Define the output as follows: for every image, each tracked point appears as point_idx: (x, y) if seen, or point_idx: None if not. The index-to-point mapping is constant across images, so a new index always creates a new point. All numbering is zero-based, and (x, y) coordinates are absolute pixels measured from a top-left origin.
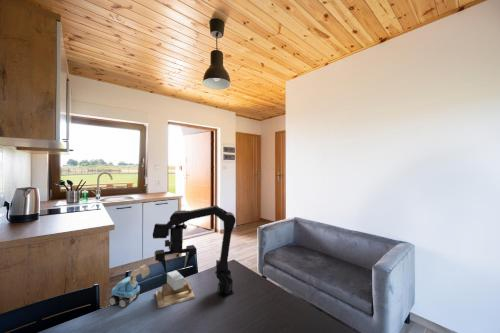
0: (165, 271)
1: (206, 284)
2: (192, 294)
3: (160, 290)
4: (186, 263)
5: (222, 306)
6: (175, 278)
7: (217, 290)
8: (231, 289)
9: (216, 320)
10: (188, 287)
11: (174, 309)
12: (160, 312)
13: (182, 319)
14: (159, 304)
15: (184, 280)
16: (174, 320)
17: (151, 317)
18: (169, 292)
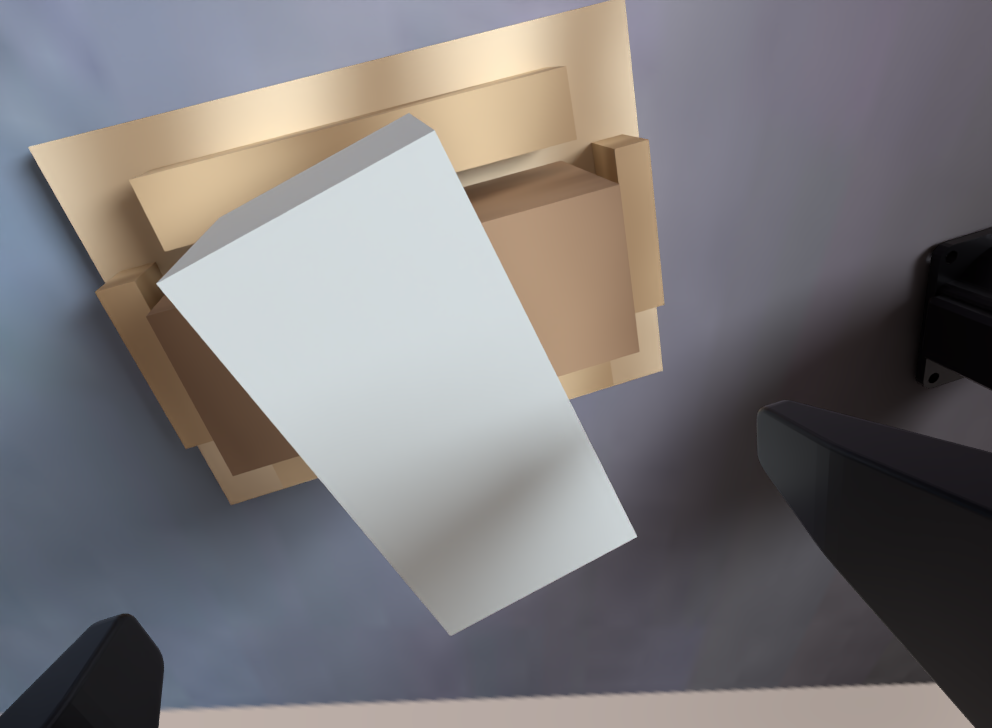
0: (142, 714)
1: (870, 43)
2: (642, 332)
3: (117, 128)
4: (933, 666)
5: None
6: (460, 568)
7: (933, 261)
8: None
9: (758, 634)
10: None
11: None
12: (286, 547)
13: (514, 626)
14: (237, 481)
15: (593, 215)
16: (447, 635)
17: (210, 605)
18: None
